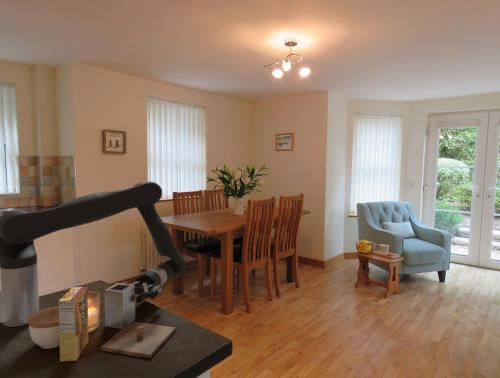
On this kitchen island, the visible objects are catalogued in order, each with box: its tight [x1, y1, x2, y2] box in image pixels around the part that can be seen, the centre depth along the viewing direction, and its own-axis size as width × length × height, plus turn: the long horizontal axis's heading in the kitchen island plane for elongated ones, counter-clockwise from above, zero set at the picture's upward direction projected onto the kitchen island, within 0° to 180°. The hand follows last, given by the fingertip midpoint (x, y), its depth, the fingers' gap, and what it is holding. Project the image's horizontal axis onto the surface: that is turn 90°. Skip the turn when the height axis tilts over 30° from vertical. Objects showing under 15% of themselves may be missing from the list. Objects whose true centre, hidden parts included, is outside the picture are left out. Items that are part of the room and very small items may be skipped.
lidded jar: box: [27, 305, 60, 350], centre depth 88 cm, size 11×11×9 cm
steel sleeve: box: [104, 282, 136, 330], centre depth 99 cm, size 6×6×11 cm
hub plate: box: [100, 321, 177, 359], centre depth 90 cm, size 14×14×4 cm
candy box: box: [58, 286, 89, 363], centre depth 84 cm, size 9×4×15 cm, turn 9°
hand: (124, 298), depth 102 cm, fingers open, 8 cm apart
